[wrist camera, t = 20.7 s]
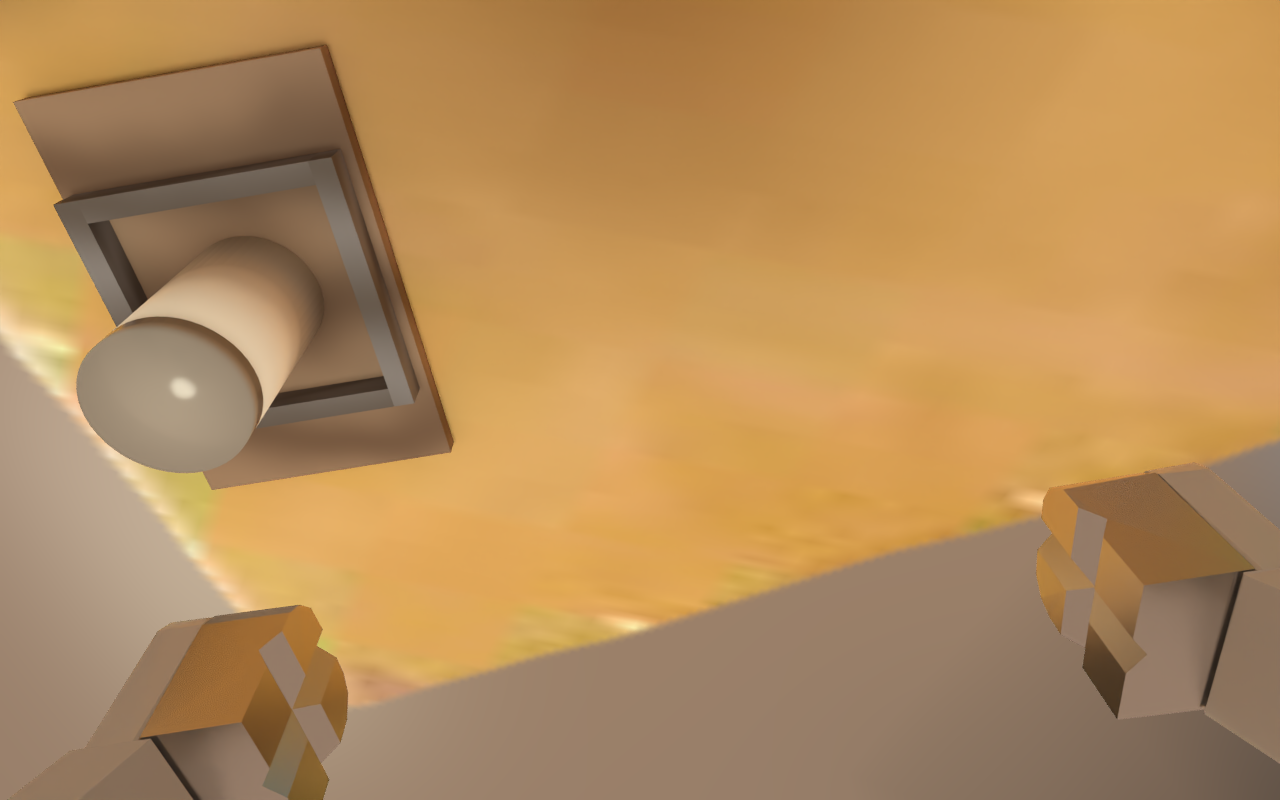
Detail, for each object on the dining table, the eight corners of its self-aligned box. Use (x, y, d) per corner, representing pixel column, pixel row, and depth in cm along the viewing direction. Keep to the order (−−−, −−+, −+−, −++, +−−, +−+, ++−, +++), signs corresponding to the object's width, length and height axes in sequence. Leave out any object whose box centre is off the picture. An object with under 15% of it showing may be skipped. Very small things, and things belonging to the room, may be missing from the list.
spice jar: (168, 246, 37) (44, 343, 29) (299, 227, 37) (216, 319, 29) (219, 363, 40) (121, 483, 32) (340, 345, 40) (276, 461, 32)
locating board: (27, 97, 35) (-10, 109, 33) (326, 45, 34) (308, 52, 32) (219, 479, 45) (200, 507, 43) (453, 442, 44) (446, 468, 42)
